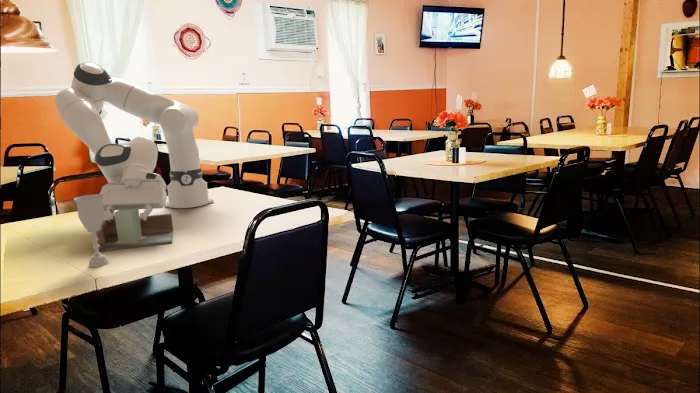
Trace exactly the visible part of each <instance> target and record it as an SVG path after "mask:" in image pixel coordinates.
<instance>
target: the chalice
mask: <svg viewBox="0 0 700 393" xmlns="http://www.w3.org/2000/svg"><path fill="white" fill-rule="evenodd" d="M103 197H104V195H102V194H100V193H98V194H97V193H96V194H85V195H81V196H76V197H74V198H73V200H74V202H75V203H76V208H77V215H78V219H79V221H80V222H81V224H82V225H83V227H84V228H85V229H86V231H87V233H91V235H92V238H91V241H92V243H93V245H92V248H93V250H94V253H93V255H91V256H90V258H89V263H88V265H89V266H92V267H91V268H99V267H98V266H100V267H104V266H106V265H108V264H110V261H109V260H108V258H107V257H106V255H105V254H104V253H101V252H99V246H100V245H98V238H97V235H96V233H97V231H99V230H100V228H101V225H102V222H103V218H104V208H103V201H102V199H103ZM89 266H88V267H89Z"/></svg>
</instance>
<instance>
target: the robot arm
mask: <svg viewBox="0 0 700 393" xmlns="http://www.w3.org/2000/svg"><path fill="white" fill-rule="evenodd" d="M54 103H55V104H54V105H55V108H56V110H57V113H58V115H59V116H60V118H61V121H63V122H64V124H65V125H66V127H67V128H68V129H69V130H70V131H71V132H72V133H73V134H74V135H75V136H76V138H78V139H79V140H80V141H81V142H82V143H83V144H85V146H86V147H87V148H89V150H90V151H91V152H93V154H94V155H95V157H94V161H95V164H96V165H97V167H98V168H99V170H100V171H101V173H102V174H103V176H104V177H105V179H106V180H107V183H106V184H104V185H103V186H102V187H101V190H100V192H99V194H102V195H104V197H103V199H102V201H103V208H104V211H105V210H107V212H108V214H109V216H108V220H109V222H115V214H112V213H115V212H116V211H119V210H121V209H131V208H138V209H139V210H144V211H143V212H139V219H141V221H143V220H146V219H147V216H150V214H151V213H152V212H153V210H154V209H155V210H156V209H163V208H171V209H172V208H174V209H189V208H197V207H201V206H205V205H208V204H211V203H214V202H215V201H214V199H213V198H212V197H210V196H209V190H208V183H207V182H206V181H205V180H204V179H203V171H202V168H201V163H200V154H199V153H200V152H199V148H198V144H197V142H196V139H195V134H194V130H195V129H196V127H197V126H198V125H199V118H200V117H199V114H198V112H197V111H196V109H195V108H193V107H192V106H191V105H188V104H185V103H183V102H180V101H178V100H175V99H172V98H170V97H167V96H164V95H161V94H160V93H157V92H154V91H152V90H149V89H148V88H145V87H143V86H140V85H139V84H136V83H133V82H131V81H127V80H125V79H121V78H117V77H112V76H111V75H110V74H109V73H108V72H107V70H105V68H103V67H102V66H100V65H99V64H97V63H94V62H86V61H85V62H82V63H78V64H77V65H76V67H75V69H74V71H73V78H72V81H71V87H70V88H64V89H62V90H60V91H58V93H57V94H56V96H55V98H54ZM104 103H109V104H110V105H112V106H113V107H115V108H118V109H119V110H120V111H124V112H125V113H128V114H130V115H132V116H135V117H137V118H139V119H142V120H143V121H146V122H151V123H153V124H157V125H160V127H161V129H162V131H163V132H162V133H163V136H164V140H165V143H166V145H167V146H166V147H167V150H168V158H169V166H170V170H169V177H170V183H169V184H168V185H167V184H166V182H165V180H164V178H163V177H162V176H161V175H160V174H158V173H154V171H155V168H156V166H157V161H158V155H159V149H158V146H157V144H156V143H155V141H153V140H152V139H150V138H149V137H146V136H136V137H134V138H133V139H131V140H130V141H126V142H121V143H112V142H111V139H110V136H109V134H108V131H107V128H106V127H105V125H104V121H103V118H102V116H101V114H102V110H103V109H102V108H103V106H104ZM166 190H167V191H166ZM167 198H168V199H167ZM167 200H168V201H167Z"/></svg>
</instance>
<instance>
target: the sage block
mask: <svg viewBox="0 0 700 393" xmlns="http://www.w3.org/2000/svg"><path fill="white" fill-rule="evenodd" d="M139 210H140V209H138V208H131V209H121V210H116V211H114V215H115V221H116V228H117V235H118V242H135V241H137V240H138V239H140V238H141V237H142V232H141V225H140V219H139V216H140V212H139Z"/></svg>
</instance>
